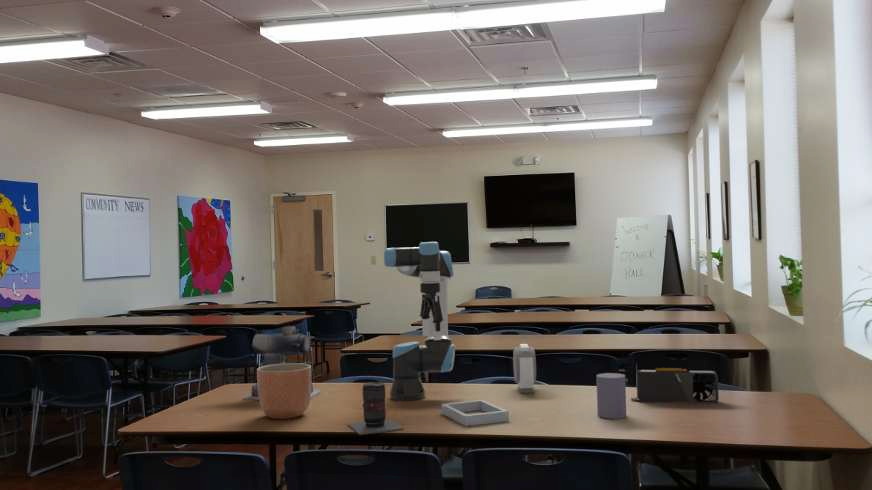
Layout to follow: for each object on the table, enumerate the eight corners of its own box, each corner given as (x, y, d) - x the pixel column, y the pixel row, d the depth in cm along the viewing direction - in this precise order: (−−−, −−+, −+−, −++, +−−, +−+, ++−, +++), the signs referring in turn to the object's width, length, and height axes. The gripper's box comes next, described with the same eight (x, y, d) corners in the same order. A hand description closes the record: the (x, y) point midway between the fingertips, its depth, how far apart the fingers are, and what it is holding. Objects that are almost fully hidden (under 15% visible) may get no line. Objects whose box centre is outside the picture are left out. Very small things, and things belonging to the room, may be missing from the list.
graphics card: (631, 402, 299) (630, 366, 299) (631, 399, 303) (630, 364, 303) (718, 404, 291) (718, 367, 291) (717, 402, 295) (716, 365, 295)
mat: (347, 425, 273) (347, 423, 273) (389, 420, 278) (389, 418, 278) (359, 435, 258) (359, 433, 258) (403, 429, 263) (403, 427, 263)
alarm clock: (537, 393, 320) (535, 346, 320) (517, 394, 320) (516, 347, 320) (532, 386, 338) (531, 341, 338) (513, 386, 338) (512, 342, 338)
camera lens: (383, 428, 264) (382, 386, 263) (361, 428, 265) (359, 386, 265) (388, 422, 272) (387, 381, 271) (367, 422, 273) (365, 381, 273)
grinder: (258, 391, 346) (256, 325, 346) (322, 392, 340) (320, 324, 340) (240, 399, 327) (238, 329, 328) (308, 400, 322) (306, 328, 322)
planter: (253, 414, 297) (252, 366, 297) (305, 408, 305) (304, 361, 305) (263, 424, 278) (262, 373, 278) (318, 418, 286) (316, 368, 286)
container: (610, 420, 268) (609, 379, 268) (591, 415, 277) (590, 375, 277) (632, 417, 272) (631, 375, 273) (613, 412, 282) (612, 372, 282)
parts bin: (441, 413, 288) (441, 404, 288) (482, 408, 294) (482, 399, 294) (465, 426, 266) (465, 416, 266) (509, 420, 272) (508, 411, 272)
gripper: (411, 281, 296) (412, 334, 297) (430, 284, 273) (432, 342, 273) (429, 280, 299) (430, 333, 299) (450, 283, 275) (452, 341, 275)
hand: (431, 337), depth 286 cm, fingers open, 13 cm apart
